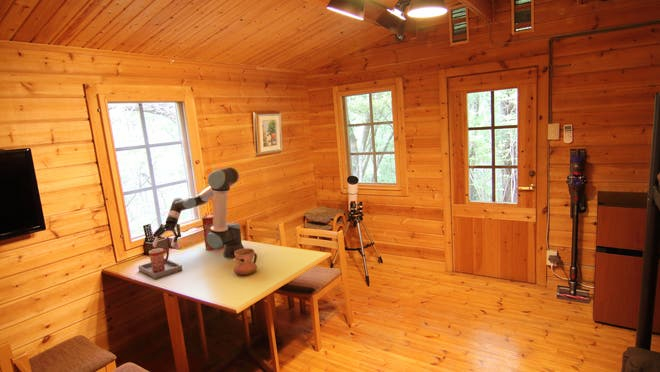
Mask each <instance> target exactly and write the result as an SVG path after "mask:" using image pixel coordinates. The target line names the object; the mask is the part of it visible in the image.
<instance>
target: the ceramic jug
mask: <svg viewBox="0 0 660 372" xmlns="http://www.w3.org/2000/svg"><path fill="white" fill-rule="evenodd" d="M234 255H235V258H232V262H237V263H236V264H235V265H234V266H233V271H234V273H235V274H236V275H239V276H247V275H251V274H253V273H255V272H256V271H257V269H258V265H257V264H256V263H257V260H258V253H257V252H255V250H254V249H253V248H249V247H247V248H246V247H245V248H244V249H239V250H237V251H235V252H234Z"/></svg>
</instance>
